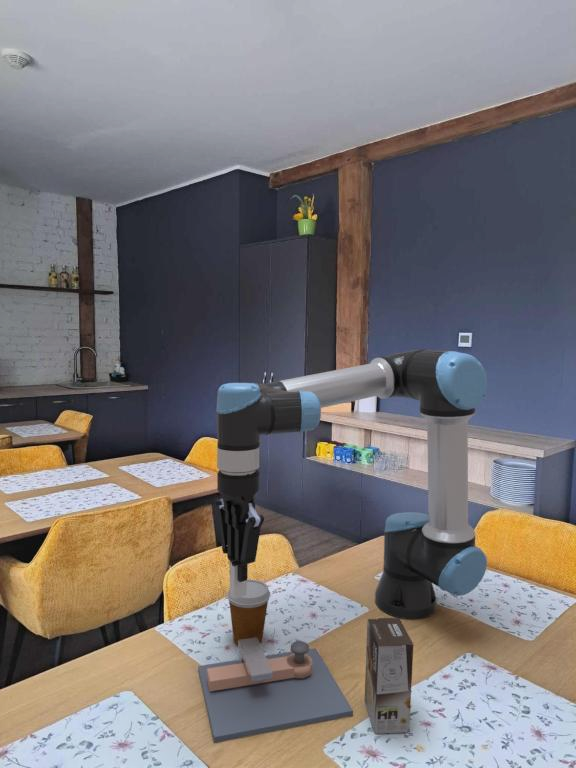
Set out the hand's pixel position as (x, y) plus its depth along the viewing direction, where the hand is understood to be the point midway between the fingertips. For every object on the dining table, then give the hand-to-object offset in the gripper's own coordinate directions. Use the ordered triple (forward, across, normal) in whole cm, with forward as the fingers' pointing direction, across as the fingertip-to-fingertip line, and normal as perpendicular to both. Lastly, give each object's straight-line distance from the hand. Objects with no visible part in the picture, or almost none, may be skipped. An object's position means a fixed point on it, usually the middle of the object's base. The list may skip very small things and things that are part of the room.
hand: (238, 595), depth 101 cm
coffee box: (+21, -20, -19) cm, 34 cm away
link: (+19, +1, -6) cm, 19 cm away
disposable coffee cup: (+20, +14, -12) cm, 27 cm away
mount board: (+20, -3, -6) cm, 21 cm away
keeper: (+20, +1, -4) cm, 21 cm away
